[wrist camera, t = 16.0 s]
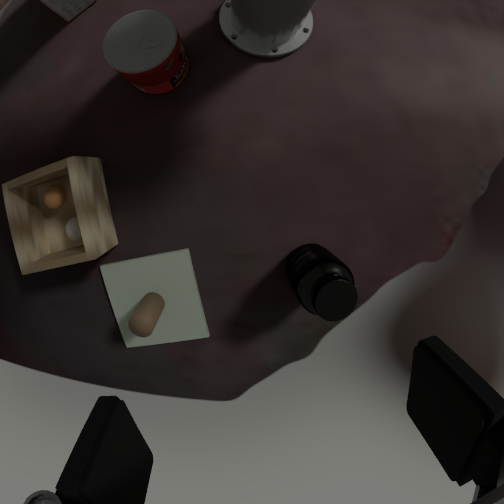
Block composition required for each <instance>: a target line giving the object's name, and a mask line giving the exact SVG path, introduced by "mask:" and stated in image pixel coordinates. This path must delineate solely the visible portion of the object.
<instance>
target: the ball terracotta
mask: <svg viewBox="0 0 504 504" xmlns="http://www.w3.org/2000/svg"><path fill="white" fill-rule="evenodd" d="M64 201H65V191H64V190H63V188H62V187H60V186H58V185H52V186H50V187H48V188H47V189H46V191H45V193H44V202H45V204H46V205H47V206H48V207H49V208H51V209H57V208H59V207H61V206H62V205H63V203H64Z"/></svg>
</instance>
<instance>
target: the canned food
mask: <svg viewBox="0 0 504 504" xmlns="http://www.w3.org/2000/svg"><path fill="white" fill-rule="evenodd" d="M103 54H104V56H105V59H106V60H107V62H108V63H109V64H110V66H111V67H113V68H114V69H115V70H116V71H117V72H118V73H120V74H121V75H122V76H123V77H125V78H126V79H127V80H128V81H129V82H131V83H132V84H133V85H134V86H135V87H137V88H138V89H139V90H141V91H143V92H145V93H149V94H162V93H166V92H169V91H171V90H173V89H174V88H176V87H177V86H179V85H180V84H181V83H182V81H183V80H184V78H185V77H186V75H187V72H188V68H189V61H188V57H187V55H186V52H185V49H184V47H183V44H182V41H181V39H180V36H179V34H178V31H177V29H176V27H175V25H174V23H173V22H172V20H171V19H170V18H169V17H168V16H166V15H165V14H163V13H161V12H158V11H154V10H141V11H136V12H133V13H130V14H128V15H126V16H124V17H122V18H121V19H119V20H118V21H117V22H116V23H115V24H114V25H113V26H112V27H111V28H110V29H109V31H108V32H107V34H106V36H105V39H104V42H103Z"/></svg>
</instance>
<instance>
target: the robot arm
mask: <svg viewBox="0 0 504 504" xmlns="http://www.w3.org/2000/svg"><path fill="white" fill-rule="evenodd" d="M314 2H315V0H225V1H224V2H223V4H222V6H221V9H220V13H219V23H220V28H221V30H222V33H223V35H224V36H225V38H226V39H227V40H228V41H229V42H230V43H231V44H232V45H233V46H234V47H236V48H237V49H239V50H241V51H242V52H245V53H247V54H250V55H253V56H258V57H266V58H272V57H280V56H285V55H288V54H290V53H293V52H295V51H296V50H298V49H299V48H301V47H302V46H303V45H304V44H305V43H306V41H307V40H308V38H309V37H310V35H311V33H312V29H313V16H312V13H311V10H310V9H311V7H312V5H313V3H314ZM304 32H306V33H304ZM233 38H236V39H235V40H234V39H233ZM272 51H275V52H276V53H273V52H272ZM407 412H408V415H409V416H410V418H411V419H412V421H413V422H414V424H415V425H416V427H417V428H418V430H419V431H420V433H421V435H422V436H423V438H424V439H425V440H426V442H427V444H428V445H429V447H430V448H431V450H432V451H433V453H434V455H435V456H436V458H437V459H438V461H439V462H440V464H441V466H442V467H443V468H444V470H445V472H446V473H447V475H448V477H449V478H450V479H451V480H452V481H457V483H458V485H459V486H462V485H464V484H465V483H467V482H469V481H471V480H472V479H473V481H474V482H475V484H476V488H475V493H474V497H473V501H472V503H471V504H504V399H503V398H502V397H501V396H500V395H499V394H498V393H497V392H496V391H495V390H494V389H493V388H492V387H491V386H490V385H489V384H488V383H487V382H486V381H485V380H484V379H483V378H482V377H481V376H480V375H478V374H477V373H476V372H475V371H474V370H473V369H472V368H471V367H470V366H469V365H468V364H467V363H466V362H465V361H464V360H462V359H461V358H460V357H459V356H458V355H457V354H456V353H455V352H454V351H453V350H451V349H450V348H449V347H448V346H447V345H446V344H445V343H444V342H443V341H442V340H440V339H439V338H438V337H437V336H431V337H428V338H425V339H423V340H420V341H419V342H418V345H417V346H416V347H415V348H414V352H413V362H412V371H411V379H410V387H409V393H408V400H407ZM152 465H153V455H152V452H151V450H150V448H149V447H148V445H147V443H146V442H145V440H144V438H143V436H142V434H141V433H140V431H139V429H138V427H137V425H136V424H135V422H134V420H133V418H132V416H131V414H130V412H129V410H128V408H127V407H126V404H125V402H124V401H123V400H120V399H119V398H118V397H117V396H100V397H99V398H98V400H97V402H96V404H95V406H94V408H93V410H92V411H91V414H90V416H89V417H88V419H87V421H86V423H85V425H84V427H83V429H82V431H81V433H80V436H79V438H78V440H77V442H76V444H75V446H74V448H73V450H72V452H71V454H70V456H69V459H68V461H67V463H66V465H65V467H64V470H63V472H62V474H61V476H60V478H59V481H58V483H57V485H56V489H57V490H56V493H55V494H54V493H53V492H50V491H45V490H41V491H37V492H35V493H33V494H31V495H30V496H29V497H28V498H27V499H26V500H25V502H24V504H144V503H145V498H146V493H147V488H148V483H149V479H150V474H151V469H152Z"/></svg>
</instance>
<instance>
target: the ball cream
mask: <svg viewBox="0 0 504 504" xmlns="http://www.w3.org/2000/svg"><path fill="white" fill-rule="evenodd" d="M66 234H67V236H68V237H69V238H70V239H71V240H73V241H80V240H82V235H81V231H80V227H79V222H78V218H77V217H74V218H71V219H70V220H69V221H68V223H67V225H66Z"/></svg>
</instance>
